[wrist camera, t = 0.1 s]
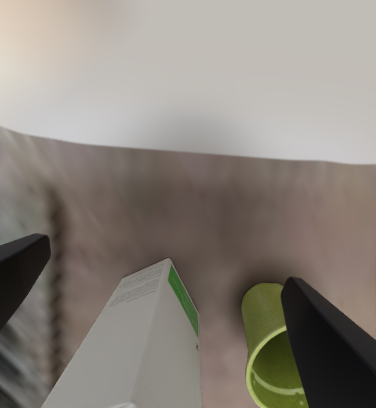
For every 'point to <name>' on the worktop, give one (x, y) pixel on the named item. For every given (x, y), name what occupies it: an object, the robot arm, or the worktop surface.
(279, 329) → the plant pot
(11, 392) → the worktop surface
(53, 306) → the worktop surface
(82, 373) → the skincare box
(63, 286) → the worktop surface
